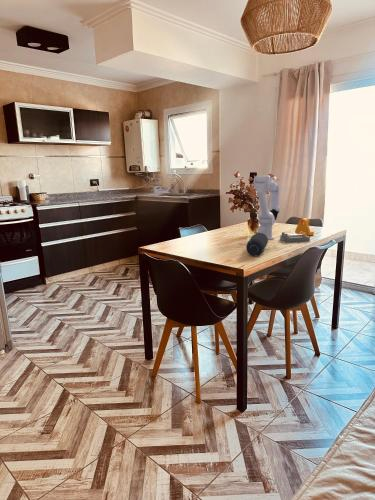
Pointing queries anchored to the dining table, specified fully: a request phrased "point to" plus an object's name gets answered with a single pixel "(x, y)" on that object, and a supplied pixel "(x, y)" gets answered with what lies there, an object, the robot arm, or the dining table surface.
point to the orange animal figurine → (304, 227)
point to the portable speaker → (257, 244)
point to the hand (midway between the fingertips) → (274, 219)
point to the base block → (294, 238)
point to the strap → (293, 235)
